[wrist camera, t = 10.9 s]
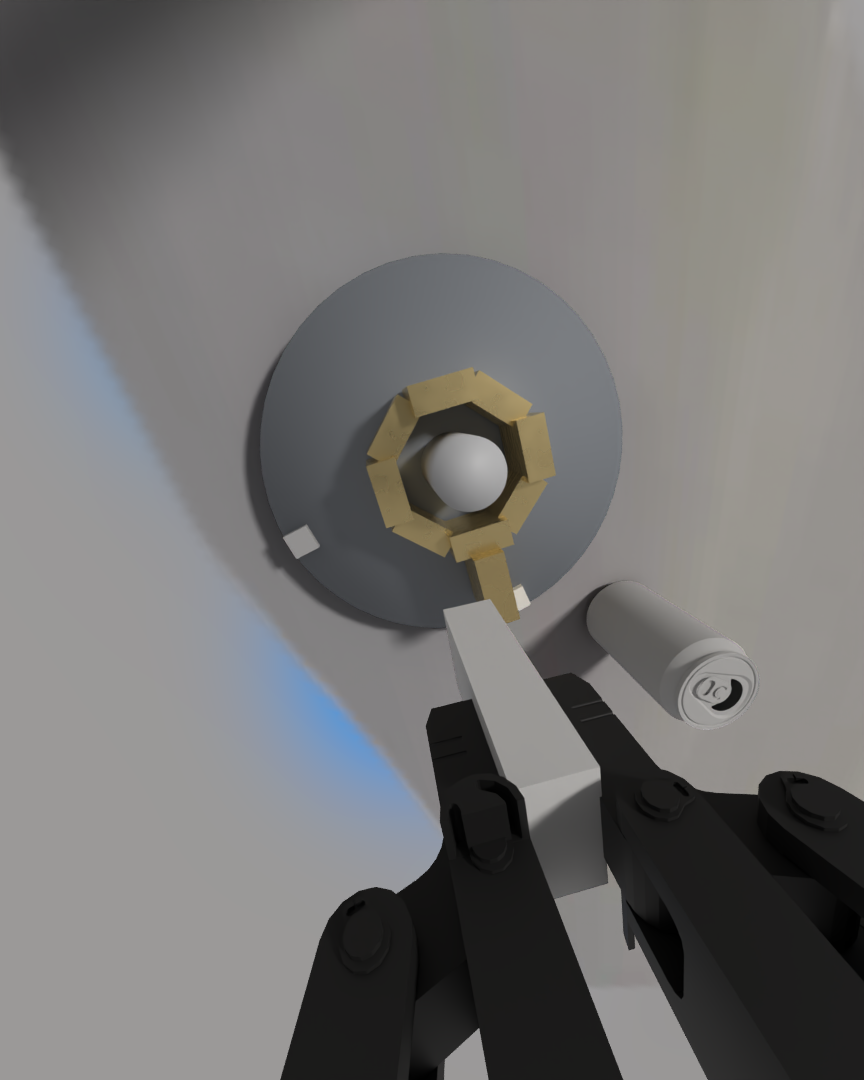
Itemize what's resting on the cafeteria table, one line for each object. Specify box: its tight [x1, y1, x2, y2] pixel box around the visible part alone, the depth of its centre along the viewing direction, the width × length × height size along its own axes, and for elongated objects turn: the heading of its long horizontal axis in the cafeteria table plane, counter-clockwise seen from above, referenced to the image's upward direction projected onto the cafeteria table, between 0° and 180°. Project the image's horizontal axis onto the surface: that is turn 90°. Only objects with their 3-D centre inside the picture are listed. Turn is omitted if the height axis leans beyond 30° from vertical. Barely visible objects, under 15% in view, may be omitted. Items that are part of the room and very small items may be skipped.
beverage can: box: [586, 581, 760, 730], centre depth 32 cm, size 6×6×12 cm
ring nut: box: [366, 367, 556, 623], centre depth 28 cm, size 16×11×5 cm
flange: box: [260, 253, 622, 628], centre depth 28 cm, size 26×26×8 cm
